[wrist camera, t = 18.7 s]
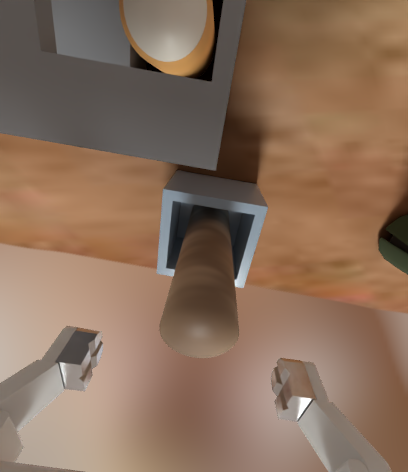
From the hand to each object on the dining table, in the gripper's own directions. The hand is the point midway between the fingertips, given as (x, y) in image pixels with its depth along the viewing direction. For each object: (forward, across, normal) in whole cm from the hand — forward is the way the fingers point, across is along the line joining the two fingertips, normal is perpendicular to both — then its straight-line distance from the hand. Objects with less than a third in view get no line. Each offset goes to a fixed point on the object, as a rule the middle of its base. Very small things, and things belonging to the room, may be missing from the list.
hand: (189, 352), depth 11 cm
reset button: (+16, +4, -14) cm, 22 cm away
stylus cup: (+17, 0, 0) cm, 17 cm away
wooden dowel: (+16, 0, 0) cm, 16 cm away
